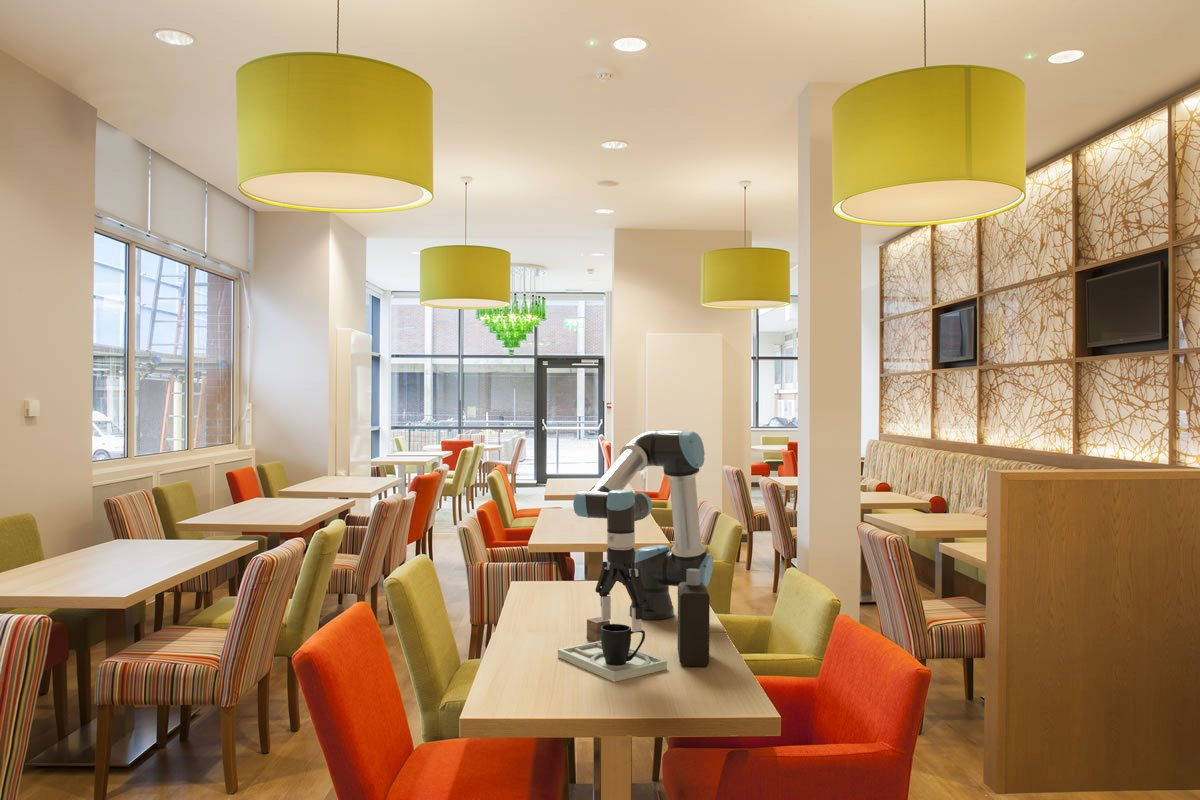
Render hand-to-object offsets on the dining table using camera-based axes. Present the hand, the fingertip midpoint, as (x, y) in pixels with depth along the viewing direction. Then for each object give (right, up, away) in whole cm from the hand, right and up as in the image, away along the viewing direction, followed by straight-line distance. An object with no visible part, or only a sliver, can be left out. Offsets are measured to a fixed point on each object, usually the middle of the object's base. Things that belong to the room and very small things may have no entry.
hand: (621, 625), depth 224 cm
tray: (-3, -11, +3) cm, 12 cm away
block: (-6, -12, +26) cm, 29 cm away
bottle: (+20, -12, +7) cm, 25 cm away
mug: (0, -10, -1) cm, 10 cm away
